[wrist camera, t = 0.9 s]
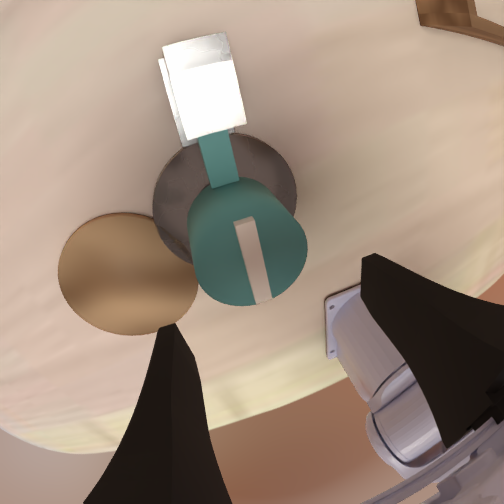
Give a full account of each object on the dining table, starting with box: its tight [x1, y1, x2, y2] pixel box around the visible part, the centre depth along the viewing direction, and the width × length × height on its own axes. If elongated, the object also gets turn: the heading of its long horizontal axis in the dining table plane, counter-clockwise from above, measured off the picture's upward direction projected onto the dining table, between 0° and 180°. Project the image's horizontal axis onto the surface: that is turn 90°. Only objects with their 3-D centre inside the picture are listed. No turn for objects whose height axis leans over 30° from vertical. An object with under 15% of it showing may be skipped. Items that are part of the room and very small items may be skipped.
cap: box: [187, 129, 308, 306], centre depth 14 cm, size 10×5×4 cm, turn 11°
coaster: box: [58, 213, 198, 336], centre depth 19 cm, size 10×10×1 cm
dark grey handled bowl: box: [153, 32, 297, 265], centre depth 15 cm, size 14×9×6 cm, turn 11°
